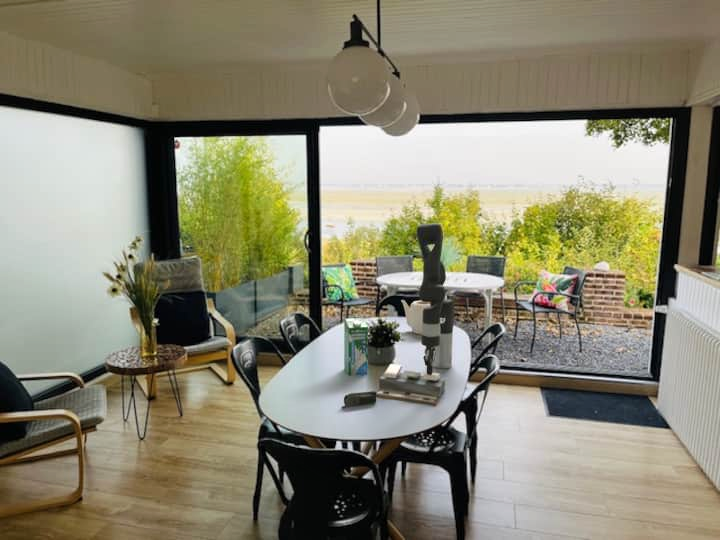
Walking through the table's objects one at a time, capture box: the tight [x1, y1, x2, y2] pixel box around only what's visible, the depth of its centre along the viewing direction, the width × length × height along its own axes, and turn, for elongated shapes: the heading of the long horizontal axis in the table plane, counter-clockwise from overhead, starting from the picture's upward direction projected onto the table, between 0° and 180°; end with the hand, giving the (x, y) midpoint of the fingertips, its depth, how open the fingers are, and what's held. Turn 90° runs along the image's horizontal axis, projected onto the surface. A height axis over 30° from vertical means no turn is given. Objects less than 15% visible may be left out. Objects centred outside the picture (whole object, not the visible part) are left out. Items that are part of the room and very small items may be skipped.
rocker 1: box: [383, 363, 403, 378], centre depth 220 cm, size 9×5×2 cm, turn 159°
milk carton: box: [343, 317, 369, 377], centre depth 239 cm, size 9×9×25 cm
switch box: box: [375, 372, 446, 406], centre depth 215 cm, size 16×26×6 cm, turn 69°
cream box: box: [423, 372, 441, 381], centre depth 214 cm, size 9×5×3 cm, turn 159°
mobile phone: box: [341, 390, 377, 409], centre depth 203 cm, size 5×3×15 cm
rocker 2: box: [403, 370, 422, 378], centre depth 217 cm, size 9×5×2 cm, turn 159°
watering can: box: [400, 299, 443, 335], centre depth 309 cm, size 16×27×19 cm, turn 62°
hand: (429, 374), depth 210 cm, fingers closed
